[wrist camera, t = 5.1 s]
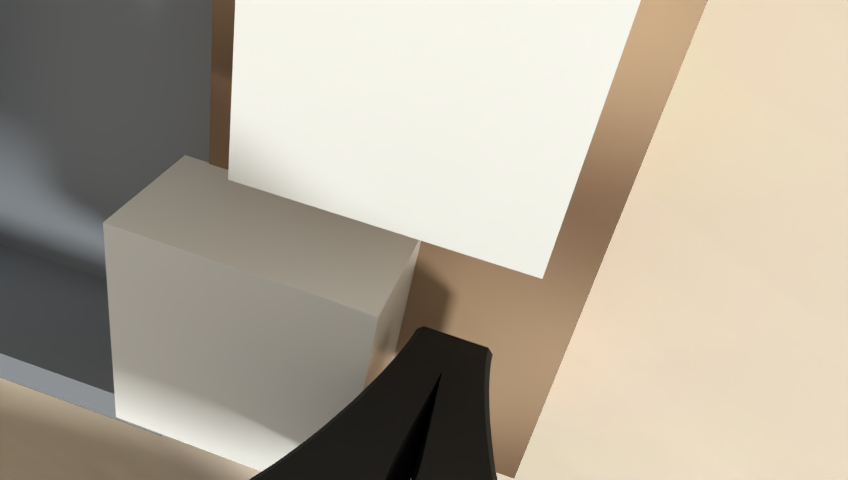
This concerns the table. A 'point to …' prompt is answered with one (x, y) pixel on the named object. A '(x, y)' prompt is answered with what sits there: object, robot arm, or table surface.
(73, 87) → the tray
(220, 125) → the ledge
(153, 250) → the tile
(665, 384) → the table surface
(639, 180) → the table surface
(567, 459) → the table surface
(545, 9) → the tile
